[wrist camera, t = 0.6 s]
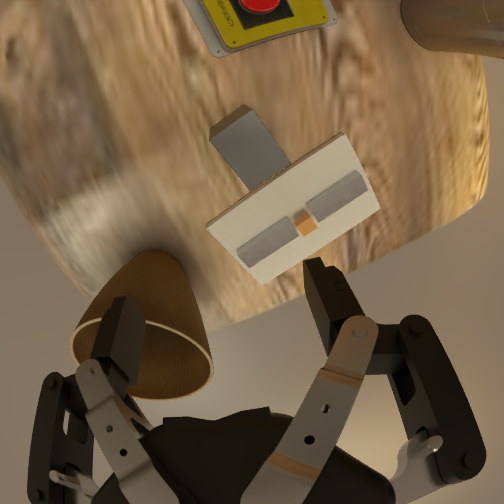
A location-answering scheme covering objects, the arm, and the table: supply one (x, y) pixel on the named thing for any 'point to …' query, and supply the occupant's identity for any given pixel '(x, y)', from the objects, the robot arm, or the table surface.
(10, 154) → the table surface
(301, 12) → the emergency button
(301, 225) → the block
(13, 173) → the table surface
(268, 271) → the mounting plate
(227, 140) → the block
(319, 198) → the rail
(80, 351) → the plant pot
